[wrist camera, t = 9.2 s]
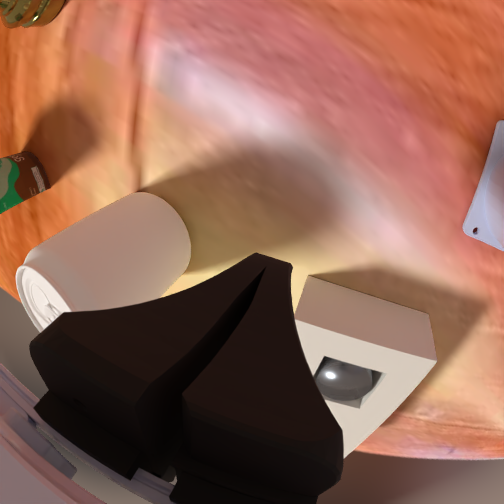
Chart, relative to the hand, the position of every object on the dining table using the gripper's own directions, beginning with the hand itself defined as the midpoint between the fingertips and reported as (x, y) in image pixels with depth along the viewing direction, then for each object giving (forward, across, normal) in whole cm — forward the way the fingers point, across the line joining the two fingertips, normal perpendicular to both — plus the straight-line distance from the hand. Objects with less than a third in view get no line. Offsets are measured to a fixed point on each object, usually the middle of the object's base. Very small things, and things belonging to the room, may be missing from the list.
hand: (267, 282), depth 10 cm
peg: (+10, -6, +10) cm, 16 cm away
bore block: (+10, -6, +15) cm, 19 cm away
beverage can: (+11, +12, +7) cm, 17 cm away
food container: (+11, +32, +4) cm, 34 cm away
